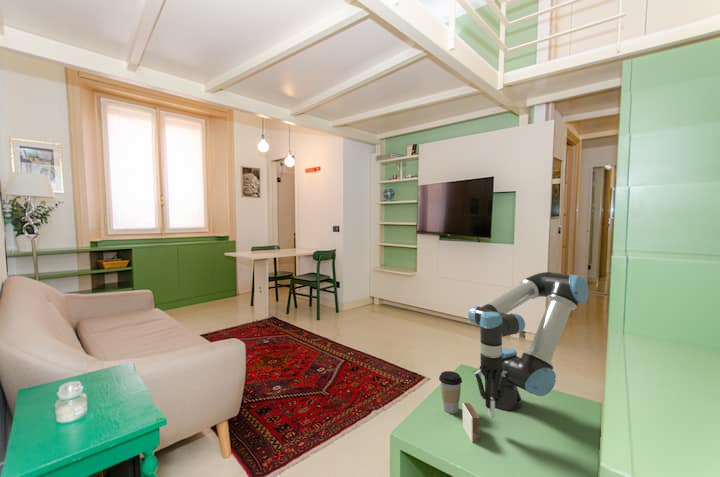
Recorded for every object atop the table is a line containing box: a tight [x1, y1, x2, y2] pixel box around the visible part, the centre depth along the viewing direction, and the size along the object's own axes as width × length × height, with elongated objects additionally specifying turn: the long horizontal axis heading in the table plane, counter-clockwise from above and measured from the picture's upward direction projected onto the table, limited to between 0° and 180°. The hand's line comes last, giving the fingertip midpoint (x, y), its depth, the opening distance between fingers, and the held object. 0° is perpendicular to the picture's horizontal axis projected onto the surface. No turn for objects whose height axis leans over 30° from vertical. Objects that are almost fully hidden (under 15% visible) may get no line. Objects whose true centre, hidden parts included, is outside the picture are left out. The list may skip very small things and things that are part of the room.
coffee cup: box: [438, 370, 463, 415], centre depth 136 cm, size 9×9×15 cm
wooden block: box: [461, 402, 481, 443], centre depth 120 cm, size 3×10×9 cm, turn 0°
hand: (491, 416), depth 120 cm, fingers closed
